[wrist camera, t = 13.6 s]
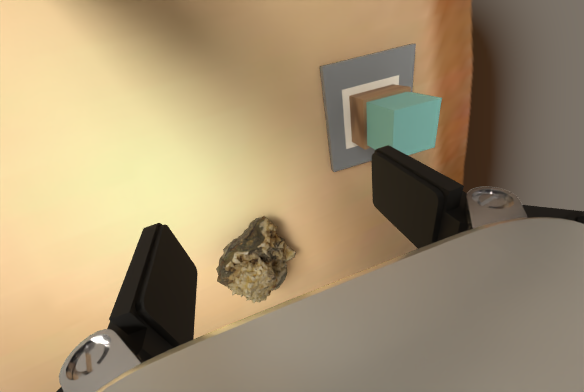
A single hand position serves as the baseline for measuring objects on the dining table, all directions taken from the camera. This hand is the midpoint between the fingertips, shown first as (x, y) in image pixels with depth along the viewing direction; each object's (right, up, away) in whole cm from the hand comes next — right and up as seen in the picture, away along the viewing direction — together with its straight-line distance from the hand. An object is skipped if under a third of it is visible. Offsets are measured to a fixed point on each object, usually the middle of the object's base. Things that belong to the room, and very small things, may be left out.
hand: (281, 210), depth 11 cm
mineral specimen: (-6, -9, +35) cm, 37 cm away
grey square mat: (+12, +14, +27) cm, 33 cm away
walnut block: (+13, +13, +26) cm, 32 cm away
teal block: (+14, +11, +23) cm, 29 cm away
